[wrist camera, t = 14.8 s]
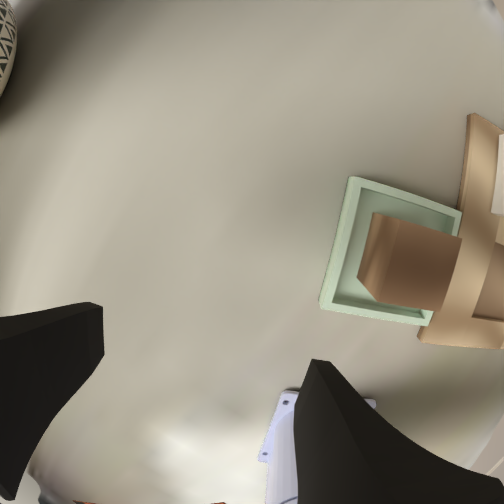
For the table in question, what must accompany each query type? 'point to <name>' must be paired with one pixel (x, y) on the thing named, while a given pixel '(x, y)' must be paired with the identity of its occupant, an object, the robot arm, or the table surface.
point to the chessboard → (93, 503)
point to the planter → (7, 42)
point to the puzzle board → (475, 252)
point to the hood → (499, 182)
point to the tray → (353, 242)
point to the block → (407, 263)
